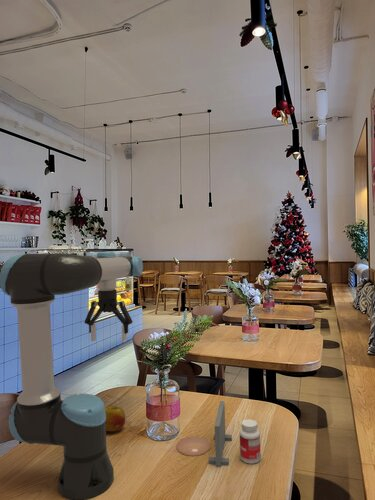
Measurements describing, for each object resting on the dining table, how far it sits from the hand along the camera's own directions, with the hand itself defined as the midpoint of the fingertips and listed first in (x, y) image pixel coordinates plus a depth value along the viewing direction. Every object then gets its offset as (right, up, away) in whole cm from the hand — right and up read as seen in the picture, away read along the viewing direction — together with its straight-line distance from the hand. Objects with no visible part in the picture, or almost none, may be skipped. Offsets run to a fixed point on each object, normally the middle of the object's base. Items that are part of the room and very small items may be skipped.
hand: (108, 341), depth 155 cm
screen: (+43, -27, -34) cm, 61 cm away
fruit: (+5, -28, -18) cm, 34 cm away
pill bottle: (+52, -27, -40) cm, 70 cm away
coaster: (+34, -27, -32) cm, 54 cm away
